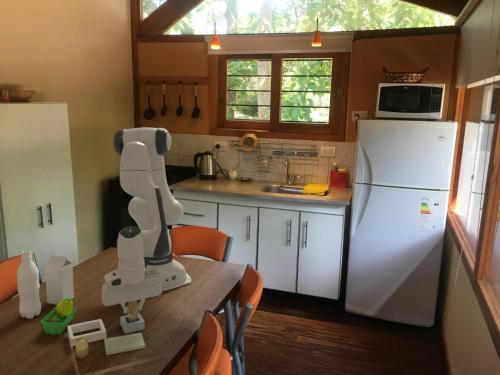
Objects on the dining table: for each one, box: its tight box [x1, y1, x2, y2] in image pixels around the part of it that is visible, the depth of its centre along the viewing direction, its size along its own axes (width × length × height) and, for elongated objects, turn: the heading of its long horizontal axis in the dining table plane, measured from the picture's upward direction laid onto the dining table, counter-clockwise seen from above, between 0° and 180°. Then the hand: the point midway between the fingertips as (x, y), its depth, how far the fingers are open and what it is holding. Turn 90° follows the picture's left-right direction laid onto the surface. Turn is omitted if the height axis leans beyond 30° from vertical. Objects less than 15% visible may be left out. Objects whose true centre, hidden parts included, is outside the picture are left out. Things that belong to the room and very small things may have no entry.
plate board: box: [103, 332, 146, 356], centre depth 138 cm, size 12×8×2 cm, turn 113°
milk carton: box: [44, 254, 75, 306], centre depth 166 cm, size 7×7×19 cm
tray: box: [67, 318, 107, 350], centre depth 142 cm, size 11×9×4 cm
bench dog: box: [75, 337, 89, 359], centre depth 131 cm, size 4×4×6 cm
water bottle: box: [16, 249, 42, 320], centre depth 154 cm, size 7×7×25 cm
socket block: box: [119, 312, 146, 335], centre depth 149 cm, size 7×7×4 cm
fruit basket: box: [40, 298, 77, 335], centre depth 147 cm, size 11×9×11 cm
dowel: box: [127, 300, 139, 323], centre depth 148 cm, size 3×3×10 cm
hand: (132, 311), depth 148 cm, fingers closed on dowel, 3 cm apart
